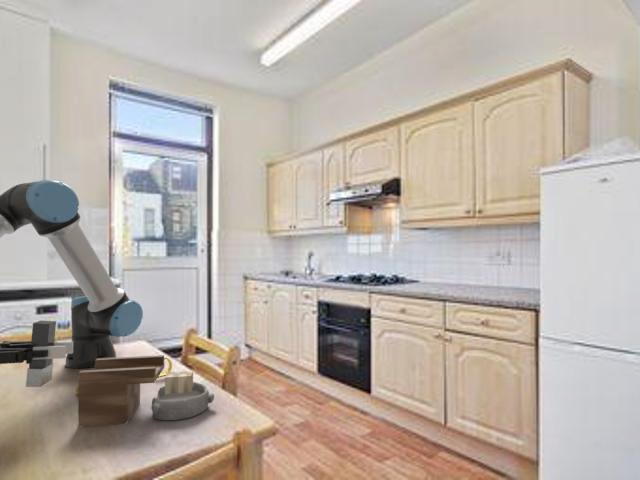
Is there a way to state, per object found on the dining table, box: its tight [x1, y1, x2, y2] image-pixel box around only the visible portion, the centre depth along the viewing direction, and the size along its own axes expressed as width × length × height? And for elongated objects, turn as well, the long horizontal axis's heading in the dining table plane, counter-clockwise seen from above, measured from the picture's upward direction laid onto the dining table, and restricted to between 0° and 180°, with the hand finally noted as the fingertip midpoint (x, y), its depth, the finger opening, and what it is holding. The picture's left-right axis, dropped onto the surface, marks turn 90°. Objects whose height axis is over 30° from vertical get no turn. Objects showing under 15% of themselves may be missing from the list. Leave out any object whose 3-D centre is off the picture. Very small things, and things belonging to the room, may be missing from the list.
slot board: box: [77, 354, 165, 428], centre depth 99 cm, size 12×16×12 cm
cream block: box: [164, 371, 181, 394], centre depth 101 cm, size 4×4×3 cm
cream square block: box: [178, 370, 194, 393], centre depth 102 cm, size 4×4×3 cm
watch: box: [158, 355, 173, 378], centre depth 128 cm, size 6×3×6 cm, turn 136°
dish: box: [151, 381, 215, 421], centre depth 102 cm, size 14×14×5 cm
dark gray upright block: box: [25, 320, 57, 388], centre depth 96 cm, size 6×3×14 cm, turn 10°
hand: (68, 349), depth 97 cm, fingers closed on dark gray upright block, 3 cm apart
